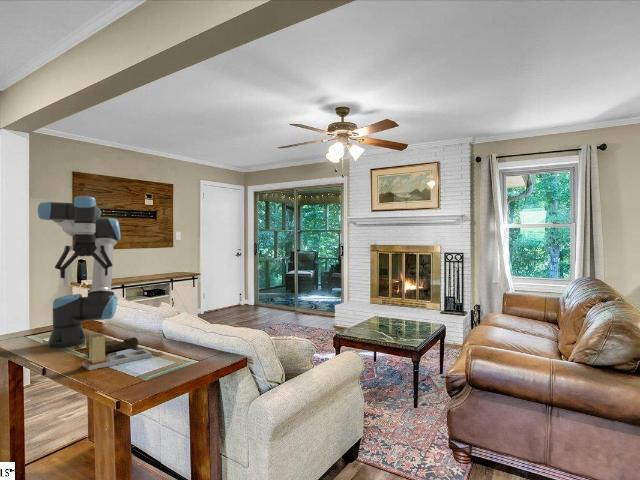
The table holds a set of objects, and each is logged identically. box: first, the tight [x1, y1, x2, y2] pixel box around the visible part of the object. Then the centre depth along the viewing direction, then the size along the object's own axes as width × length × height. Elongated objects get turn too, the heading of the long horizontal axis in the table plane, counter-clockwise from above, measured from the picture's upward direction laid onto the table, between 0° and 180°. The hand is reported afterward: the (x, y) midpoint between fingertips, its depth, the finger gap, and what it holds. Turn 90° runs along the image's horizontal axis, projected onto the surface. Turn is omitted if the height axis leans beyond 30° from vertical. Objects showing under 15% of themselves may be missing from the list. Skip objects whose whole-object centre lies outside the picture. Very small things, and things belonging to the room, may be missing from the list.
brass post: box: [88, 333, 106, 364], centre depth 149 cm, size 4×4×12 cm
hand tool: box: [105, 337, 140, 354], centre depth 170 cm, size 19×4×5 cm, turn 139°
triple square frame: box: [82, 349, 153, 371], centre depth 155 cm, size 8×24×2 cm, turn 137°
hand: (84, 285), depth 154 cm, fingers open, 13 cm apart
